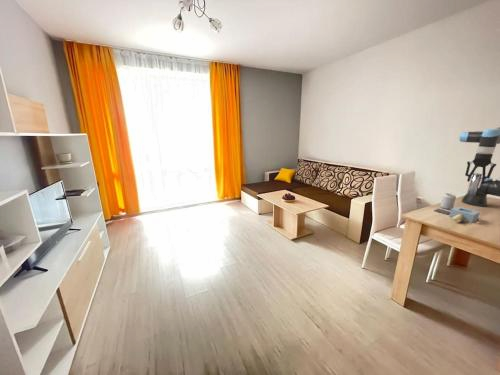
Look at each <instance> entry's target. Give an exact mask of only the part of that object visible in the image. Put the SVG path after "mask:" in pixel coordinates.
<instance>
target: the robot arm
mask: <svg viewBox="0 0 500 375" xmlns="http://www.w3.org/2000/svg"><path fill="white" fill-rule="evenodd" d="M458 139H459V142H462V143H475V144H476V143H477V144H478V143H479V144H478V147H477V149H476V153H475V155H474V158H473V160H470V161H467V162H466V164H467V166H466V169H465V170H466V171H465V176H466V177H467V180H466V181H467V182H468V184H467V187H468V189H469V186H470V183H471V180H472V176H473V173H475V172H476V170H477V169H478V168H482V173H481V174H482V176H481V179H480V182H479V185H478V188H477V191H476V194H475V196H473V195H468V194H467V192H468V189H467V192H466V193H465V195H464V196H463V197H462V198H461V202H462V203H464V204H467V205H469V206H470V205H471V206H476V207H487V205H488V199H487V196H488V195H489V196H493V197H499V198H500V176H499V177H498V178H496V179H495V180H494V179H493V177H492V178H491V175H492V173H493V171H494V168H495V167H496V166H497V163H494V162H492V158H493V155H494V153H495V150H496V147H497V144H498V145H499V144H500V126H499V127H494V128H493V127H492V128H486V129H484V130H478V131H463V132H461V133H460V135H459V138H458ZM472 164H474V166H473V168H472V170H471V171H470V168H471V166H472ZM489 165H490V167H489V170H488V173H487V175H486V171H487V170H486V168H487V167H488V166H489Z"/></svg>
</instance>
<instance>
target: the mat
mask: <svg viewBox="0 0 500 375" xmlns="http://www.w3.org/2000/svg"><path fill="white" fill-rule="evenodd" d="M433 212H436V213H439V214H442V215H446V216H447V215H448V216H449V214H450V211H449V210H446V209H443V208H441V209H440V208H436V209H434V210H433Z"/></svg>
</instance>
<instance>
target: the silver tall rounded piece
mask: <svg viewBox="0 0 500 375" xmlns="http://www.w3.org/2000/svg"><path fill="white" fill-rule="evenodd" d="M471 177H472V180H471V183H470V186H469V187H468V188H469V189H467V191H468V192H466V194H468V195H473V196H475V194H476V191H477V188H478V185H479V182H480V179H481V177H482V173H477V172H474V173H473V175H472V176H471Z"/></svg>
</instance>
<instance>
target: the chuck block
mask: <svg viewBox="0 0 500 375" xmlns="http://www.w3.org/2000/svg"><path fill="white" fill-rule="evenodd" d="M449 212H450V214H448V217H449V218H452V220H453V221H454V222H455V221H456V222H458V221H459V220H460V221H462V222H466V223H471V224H472V223H474V222H475V221H477V220H479V217H480V214H481V211H478V210H475V209H470V208H466V207H462V206H457V205H456V206H455V207H453V208H452V209H450V211H449Z"/></svg>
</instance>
